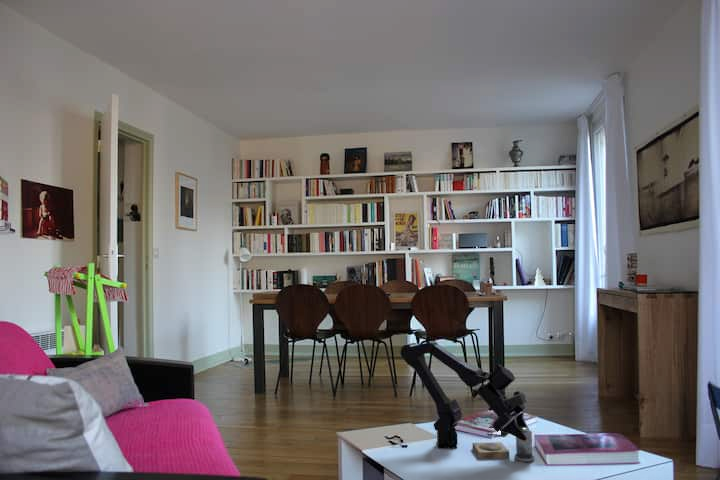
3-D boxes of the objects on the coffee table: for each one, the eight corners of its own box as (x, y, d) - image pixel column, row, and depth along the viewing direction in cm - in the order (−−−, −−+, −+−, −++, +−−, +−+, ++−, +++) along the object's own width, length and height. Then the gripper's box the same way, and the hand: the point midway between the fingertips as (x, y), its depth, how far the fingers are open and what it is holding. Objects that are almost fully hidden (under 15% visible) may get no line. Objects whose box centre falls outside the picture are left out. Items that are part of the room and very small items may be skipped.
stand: (479, 458, 181) (478, 452, 181) (472, 448, 191) (472, 442, 191) (509, 458, 181) (509, 451, 182) (501, 448, 191) (501, 442, 192)
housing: (517, 462, 177) (516, 431, 177) (512, 456, 183) (511, 425, 184) (537, 462, 177) (536, 430, 177) (531, 455, 183) (530, 425, 184)
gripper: (501, 389, 175) (537, 429, 169) (518, 379, 191) (552, 415, 185) (478, 411, 179) (513, 451, 173) (497, 399, 195) (529, 436, 188)
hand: (528, 437), depth 180 cm, fingers closed on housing, 5 cm apart
